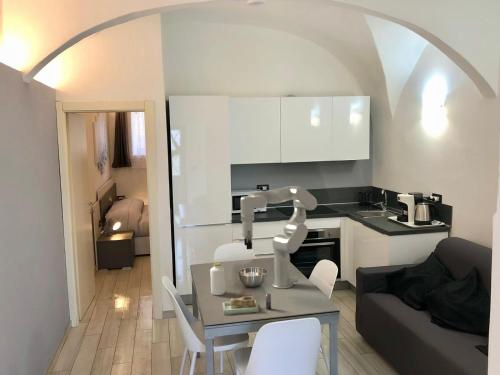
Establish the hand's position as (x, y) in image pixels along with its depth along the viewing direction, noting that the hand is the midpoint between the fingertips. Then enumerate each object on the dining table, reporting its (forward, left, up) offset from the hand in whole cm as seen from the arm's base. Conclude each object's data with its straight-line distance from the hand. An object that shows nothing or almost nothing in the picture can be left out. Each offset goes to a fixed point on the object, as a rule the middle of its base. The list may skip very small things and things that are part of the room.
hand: (248, 247), depth 260 cm
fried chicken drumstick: (+7, +22, -27) cm, 36 cm away
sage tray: (+8, +22, -28) cm, 36 cm away
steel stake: (-7, +24, -28) cm, 38 cm away
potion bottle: (+18, -6, -28) cm, 34 cm away
